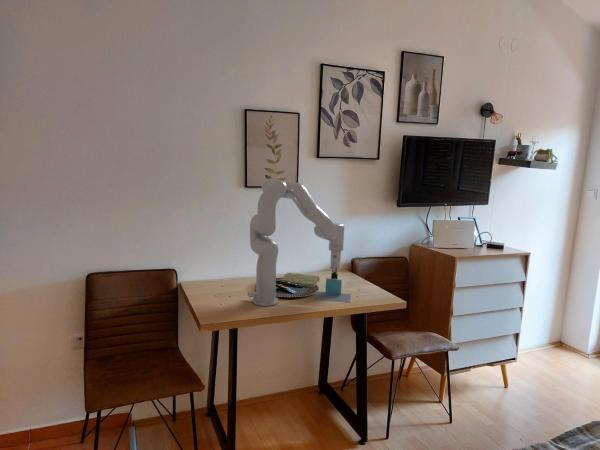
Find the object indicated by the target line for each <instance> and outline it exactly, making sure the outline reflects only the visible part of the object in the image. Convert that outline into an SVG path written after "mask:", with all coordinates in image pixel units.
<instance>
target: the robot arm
mask: <svg viewBox="0 0 600 450" xmlns="http://www.w3.org/2000/svg"><path fill="white" fill-rule="evenodd" d="M261 190H262V193H261V195H260V197H259V198H258V202H257V211H256V212H257V213H256V214H254V215H253V216H252V217H251V220H250V221H249V222H250V223H249V241H250V243H249V244H250V249H251V250H252V252H254V253H255V254H256V255H258V256H257V257H258V258H257V261H256V272H255V273H256V277H255V280H256V281H255V291H254V292H252V291H248V292H247V296H248V298H252V303H253V304H255V305H257V306H259V307H260V306H261V307H269V306H270V307H271V306H275V305H277V304H278V303H279V298H278V297H276V293H277V292H276V291H277V289H276V287H277V261H278V256H279V246H278V244H277V242H276V241H275V240H274V239H272V238H269V237H270V236H272V235H273V234H274V233H275V232H276V227H277V225H276V223H277V222H276V221H277V220H276V219H277V218H276V212H277V211H276V210H277V204H278V202H279V201H280V199H281V198H282V199H283V198H284V199H288V200H289V199H290V200H292V201H293V203H294V204H295V206H296V207H297V208H298V210H299V211H300V213H301V214H302V216H304V217H305V218H306V219H307V220H308V221H311V222H312V223H313V224H314V227H313V232H314V235H316V236H317V237H318V238H320V239H324V240H327V241H328V250H329V251H330V269H331V276H330V279H338V274H339V273H338V271H339V270H340V269H341V265H342V263H341V262H342V261H341V260H342V252H343V251H344V243H345V242H344V241H345V240H344V239H345V225H344V224H343V223H340V222H337V223H336V222H335V223H334V222H333V221H332V219H331V218H330V217H329V215H328V214H326V213H325V211H323V209H321V208H320V207H319V205H317V203H316V202H315V200H314V199H313V197H312V195H311V194H310V192H309V191H308V189H307V188H306V187H305V186H304V185H303V184H302V183H300V182H296V181H295V182H294V181H288V180H287V181H285V180H281V179H276V178H266V179H265V180H263V181H262V183H261Z"/></svg>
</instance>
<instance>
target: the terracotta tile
mask: <svg viewBox="0 0 600 450" xmlns="http://www.w3.org/2000/svg"><path fill="white" fill-rule="evenodd" d="M342 281H343V279H340V278H337V279H331V277H329V278H328V277H326V278H325V291H324V292H325V294H333V295H341V294H342Z"/></svg>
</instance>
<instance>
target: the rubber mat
mask: <svg viewBox="0 0 600 450" xmlns="http://www.w3.org/2000/svg"><path fill="white" fill-rule="evenodd" d="M325 292H326V291H316V292H315V294H314V298H313V300H315V301H325V302H326V301H328V302H338V303H351V295H352V294H351V293H341V295H333V294H325Z"/></svg>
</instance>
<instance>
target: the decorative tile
mask: <svg viewBox="0 0 600 450" xmlns="http://www.w3.org/2000/svg"><path fill="white" fill-rule="evenodd" d="M320 278H321V277H320V276H319V275H313V274H302V273H292V272H287V273H285V274H284V276H283V277H282V278H281V280H280V283H281V282H290V283H293V284H297V285H299V286H298V287H302V288H303V287H305V288H315V287H316V285H317V283H318V282H320Z"/></svg>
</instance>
